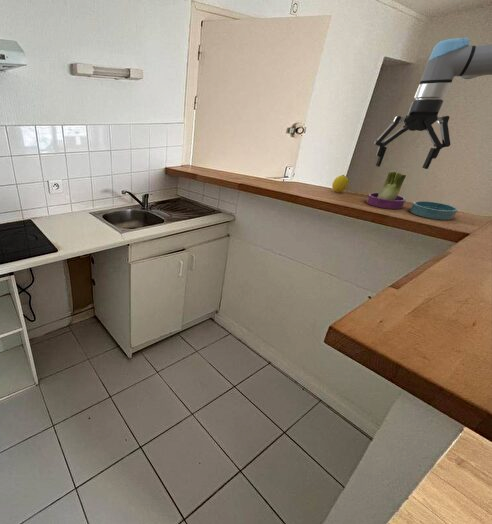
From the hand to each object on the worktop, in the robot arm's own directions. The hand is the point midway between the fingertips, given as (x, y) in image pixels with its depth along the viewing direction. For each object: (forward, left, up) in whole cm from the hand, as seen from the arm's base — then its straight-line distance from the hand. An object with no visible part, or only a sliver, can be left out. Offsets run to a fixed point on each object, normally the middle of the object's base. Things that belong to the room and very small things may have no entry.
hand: (400, 167), depth 101 cm
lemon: (+14, -13, -15) cm, 24 cm away
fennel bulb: (0, 0, -14) cm, 14 cm away
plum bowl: (0, 0, -14) cm, 14 cm away
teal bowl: (-12, +7, -14) cm, 20 cm away
